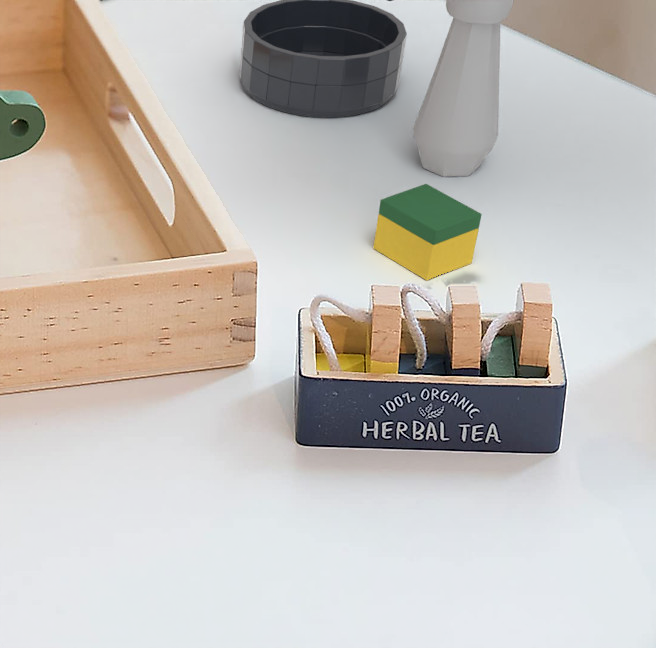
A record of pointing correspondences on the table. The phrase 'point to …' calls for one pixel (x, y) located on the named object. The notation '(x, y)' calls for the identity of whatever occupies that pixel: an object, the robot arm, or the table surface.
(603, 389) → the table surface
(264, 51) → the bowl
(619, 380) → the table surface
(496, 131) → the salt shaker
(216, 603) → the table surface
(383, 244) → the sponge
